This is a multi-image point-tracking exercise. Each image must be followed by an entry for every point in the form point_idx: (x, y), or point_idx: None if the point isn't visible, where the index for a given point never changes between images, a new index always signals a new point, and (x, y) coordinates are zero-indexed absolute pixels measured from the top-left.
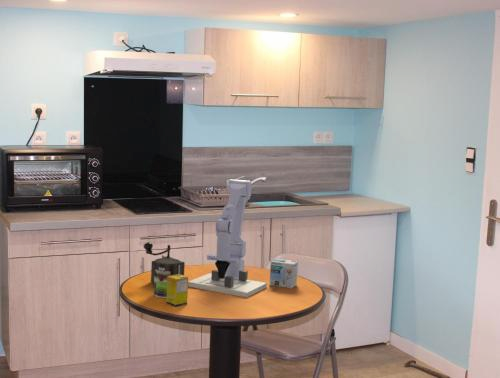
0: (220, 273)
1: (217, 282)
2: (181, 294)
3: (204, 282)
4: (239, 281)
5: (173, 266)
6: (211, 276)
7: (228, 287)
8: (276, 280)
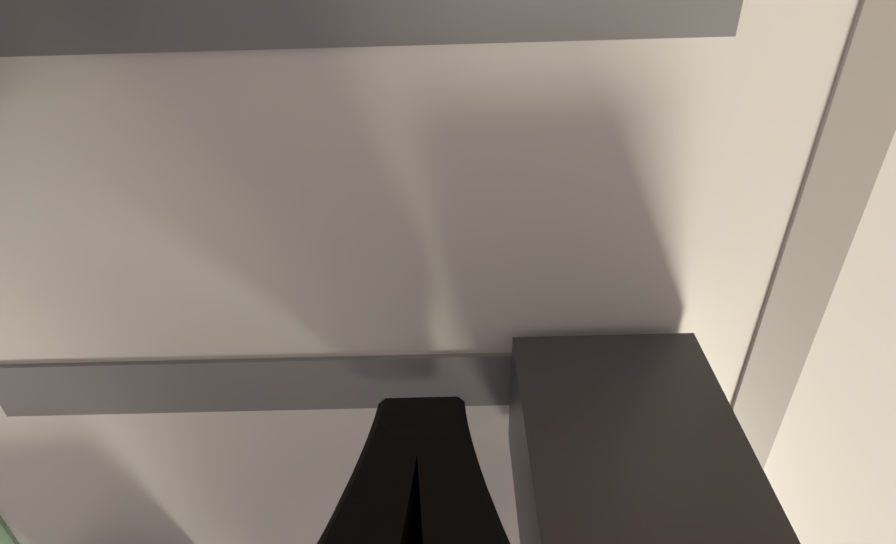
0: (422, 512)
1: (454, 247)
2: None
3: (801, 8)
4: (157, 535)
5: None
6: None
7: None
8: None
